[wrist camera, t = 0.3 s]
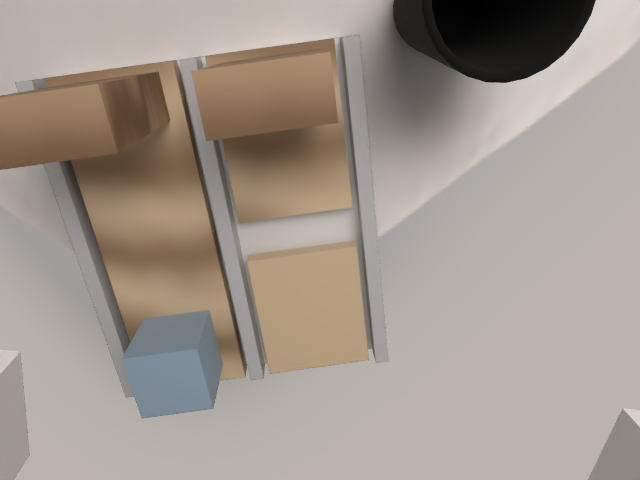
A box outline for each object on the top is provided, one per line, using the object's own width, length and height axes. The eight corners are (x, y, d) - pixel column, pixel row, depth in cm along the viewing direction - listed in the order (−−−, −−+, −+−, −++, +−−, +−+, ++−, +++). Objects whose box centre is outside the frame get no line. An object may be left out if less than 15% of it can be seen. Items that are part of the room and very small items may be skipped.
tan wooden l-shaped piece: (52, 77, 31) (-70, 94, 20) (176, 60, 31) (117, 68, 20) (150, 381, 40) (100, 499, 30) (246, 367, 40) (230, 481, 30)
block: (143, 318, 36) (121, 359, 32) (209, 309, 36) (197, 348, 32) (160, 373, 38) (141, 418, 34) (223, 364, 38) (213, 408, 34)
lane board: (39, 79, 32) (15, 82, 29) (353, 35, 32) (359, 34, 29) (137, 373, 41) (126, 397, 38) (382, 339, 41) (388, 361, 38)
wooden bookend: (208, 55, 31) (164, 62, 20) (332, 38, 31) (352, 36, 20) (240, 217, 35) (218, 290, 25) (350, 202, 35) (374, 269, 25)
